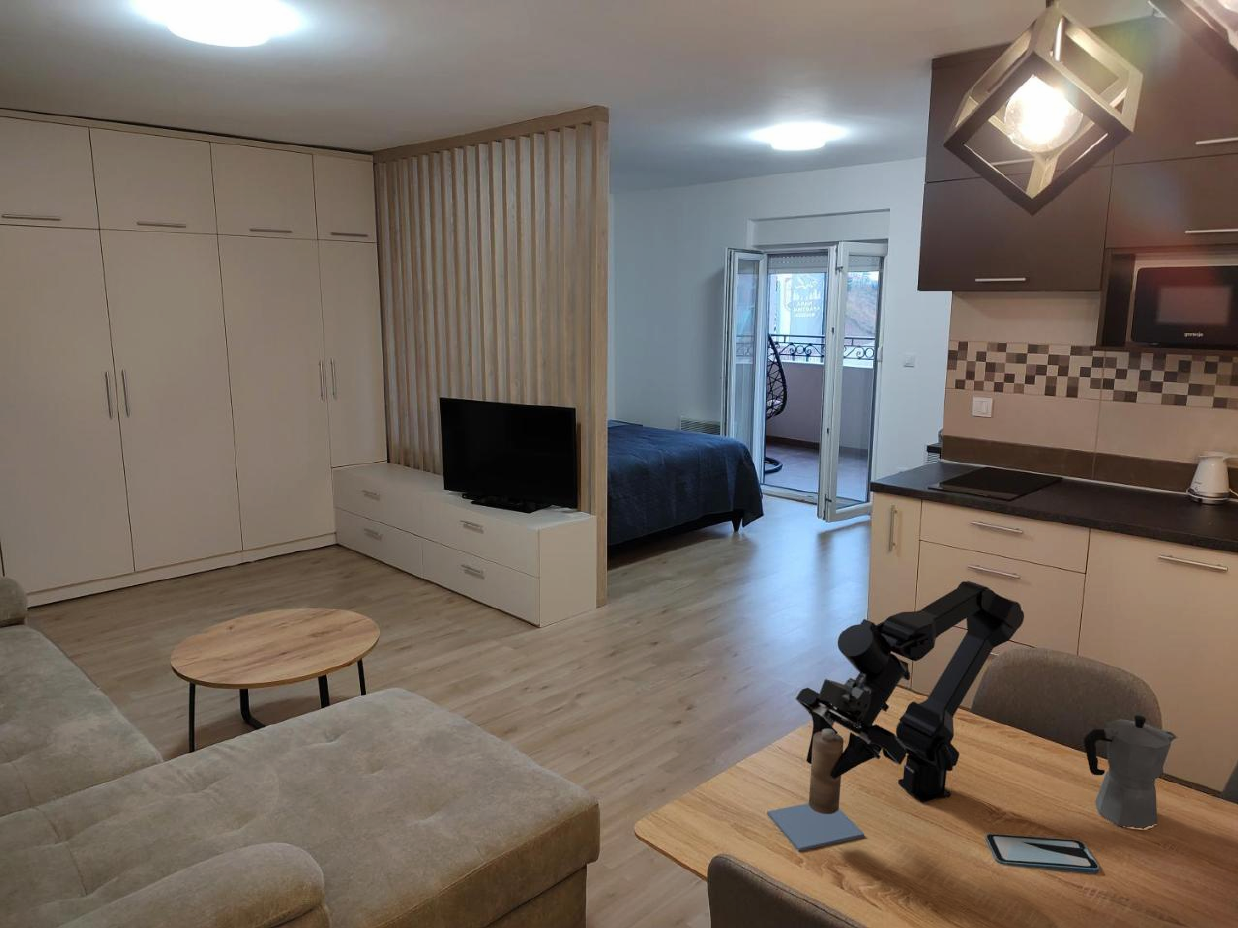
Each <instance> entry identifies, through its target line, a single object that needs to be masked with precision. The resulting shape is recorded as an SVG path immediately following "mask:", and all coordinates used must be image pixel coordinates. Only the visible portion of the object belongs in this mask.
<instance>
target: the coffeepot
mask: <svg viewBox="0 0 1238 928" xmlns="http://www.w3.org/2000/svg"><path fill="white" fill-rule="evenodd" d="M1146 721H1147V718H1146V717H1144V716H1142V715H1134V721H1133V720H1127V719H1121V718H1120V719H1116V720H1113V721H1109V722H1106V723H1105V724H1106V727H1105V728H1101V729H1099V728H1094V729H1092V730H1091V731H1090V732H1089V733H1087V734H1086V735H1085V737H1084V738H1083V747H1084V750H1085V754H1086V758H1087V763H1088V765H1089V766H1088V767H1089V772H1090V773H1091V774H1092V775H1093V776H1103V775H1104V778H1103V780H1102V783H1101V785H1100V788H1099V790H1098V792H1097V796H1096V798H1095V801H1094V803H1095V807H1096V811H1097V810H1098V811H1097V812H1098V814H1099V815H1100V816H1101V817H1102V818H1104V819H1105V820H1106V819H1107V820H1106V821H1108V820H1109V821H1108V822H1110V821H1111V822H1113V823H1114V825H1116V824H1117V825H1116V826H1118V825H1119V827H1121V826H1125V827H1134V828H1142V829H1144V828H1146V827H1148V826H1152V825H1154V824H1157V825H1158V812H1157V811H1158V810H1157V808H1158V807H1157V789H1156V786H1155V784H1156V780H1157V779H1159V778H1160V777H1161V776H1160V775H1161V773H1162V770H1163V767H1164V765H1165V762H1166V760H1167V757H1168V754H1169V751H1170V750H1171V745H1172V742H1173V740H1175V739H1178V736H1177V735H1176V734H1174V733H1173V732H1171V731H1168V730H1166V729H1162V728H1161V729H1160V728H1156V727H1154V726H1151V725H1149V724H1148V723H1146ZM1098 741H1103V742H1106V753H1107V754H1106V757H1107V763H1108V767H1109V768H1108V771H1107V772H1106V771H1105V770H1104V769H1099V767H1098V766H1099V759H1098V756H1097V747H1096V743H1097V742H1098ZM1111 822H1110V823H1111ZM1113 823H1112V824H1113Z"/></svg>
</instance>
